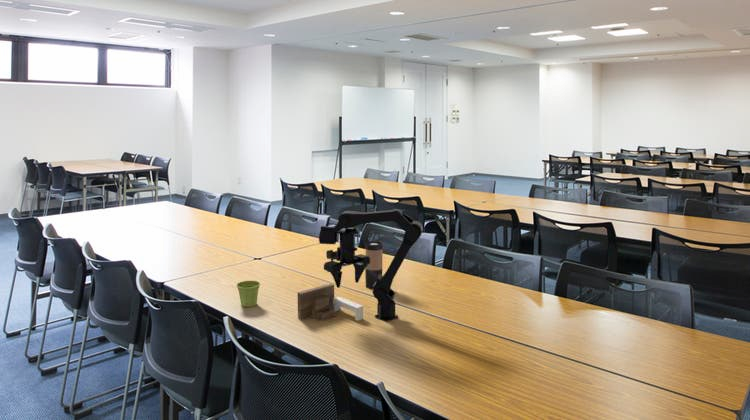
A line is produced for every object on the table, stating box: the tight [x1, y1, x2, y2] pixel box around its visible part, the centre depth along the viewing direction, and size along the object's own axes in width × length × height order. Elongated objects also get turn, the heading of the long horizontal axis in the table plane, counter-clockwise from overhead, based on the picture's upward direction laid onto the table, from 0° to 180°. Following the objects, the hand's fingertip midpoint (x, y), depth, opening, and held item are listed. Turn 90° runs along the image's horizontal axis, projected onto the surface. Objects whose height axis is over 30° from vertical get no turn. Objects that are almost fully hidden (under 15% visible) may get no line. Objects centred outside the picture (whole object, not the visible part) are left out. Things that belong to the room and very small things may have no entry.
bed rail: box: [333, 296, 364, 321], centre depth 198 cm, size 14×3×5 cm, turn 44°
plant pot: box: [235, 280, 261, 308], centre depth 208 cm, size 9×9×9 cm
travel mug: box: [364, 240, 383, 290], centre depth 231 cm, size 8×8×20 cm
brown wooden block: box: [297, 283, 336, 322], centre depth 196 cm, size 8×16×10 cm, turn 134°
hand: (347, 285), depth 196 cm, fingers open, 9 cm apart
